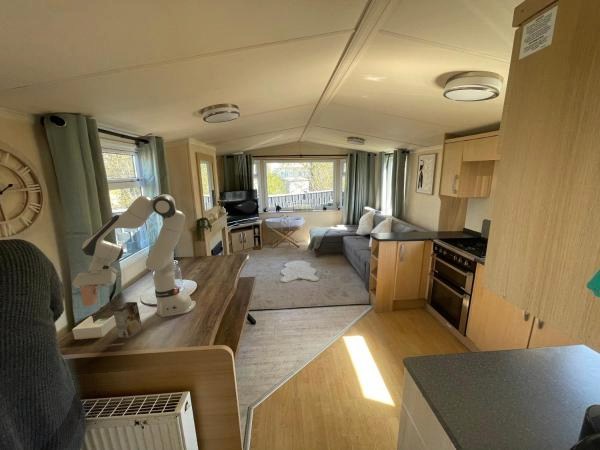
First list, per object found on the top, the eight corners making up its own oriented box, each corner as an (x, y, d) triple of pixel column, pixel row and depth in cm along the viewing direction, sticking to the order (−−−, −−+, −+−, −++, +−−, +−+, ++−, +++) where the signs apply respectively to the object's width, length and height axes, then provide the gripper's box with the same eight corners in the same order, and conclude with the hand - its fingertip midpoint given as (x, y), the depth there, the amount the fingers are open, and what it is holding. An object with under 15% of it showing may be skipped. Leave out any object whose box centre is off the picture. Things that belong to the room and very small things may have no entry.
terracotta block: (98, 301, 142) (95, 285, 140) (92, 305, 138) (88, 289, 136) (89, 301, 142) (86, 286, 140) (83, 305, 137) (79, 289, 136)
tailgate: (118, 322, 150) (123, 318, 154) (118, 321, 150) (123, 316, 154) (92, 325, 149) (98, 320, 154) (92, 323, 149) (98, 318, 153)
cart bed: (118, 324, 150) (116, 313, 148) (103, 338, 137) (100, 326, 136) (92, 326, 149) (90, 316, 148) (75, 340, 136) (72, 329, 135)
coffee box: (132, 328, 145) (127, 301, 142) (142, 329, 143) (137, 301, 140) (118, 338, 136) (112, 309, 133) (128, 339, 134) (123, 310, 131)
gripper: (75, 268, 144) (64, 293, 136) (114, 266, 145) (105, 290, 137) (83, 273, 149) (73, 297, 141) (120, 271, 150) (112, 294, 142)
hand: (89, 294), depth 139 cm, fingers closed on terracotta block, 4 cm apart
